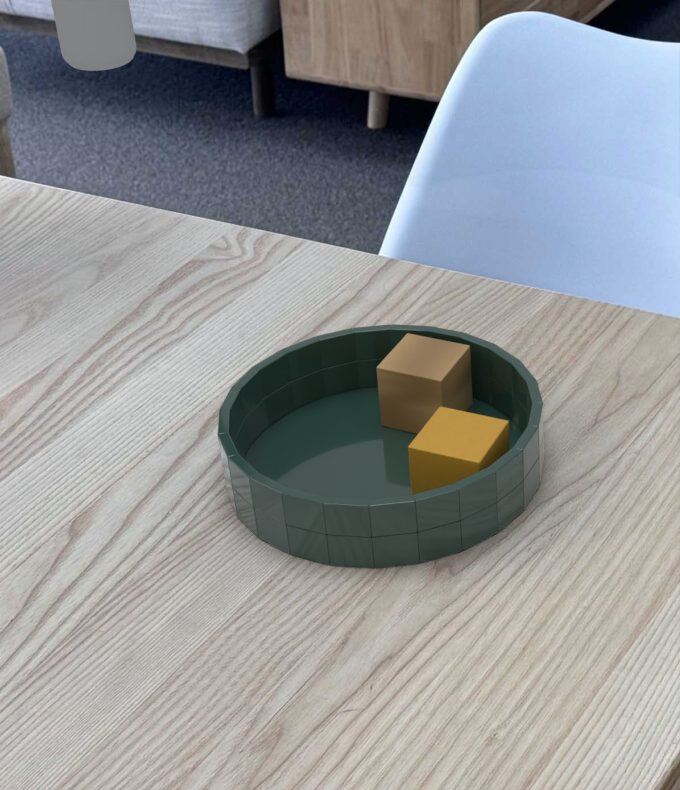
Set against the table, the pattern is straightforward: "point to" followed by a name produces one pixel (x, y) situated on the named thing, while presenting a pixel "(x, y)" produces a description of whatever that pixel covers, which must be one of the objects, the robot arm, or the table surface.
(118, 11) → the beverage can
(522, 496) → the bowl
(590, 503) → the table surface
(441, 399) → the maple block
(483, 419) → the mustard block
